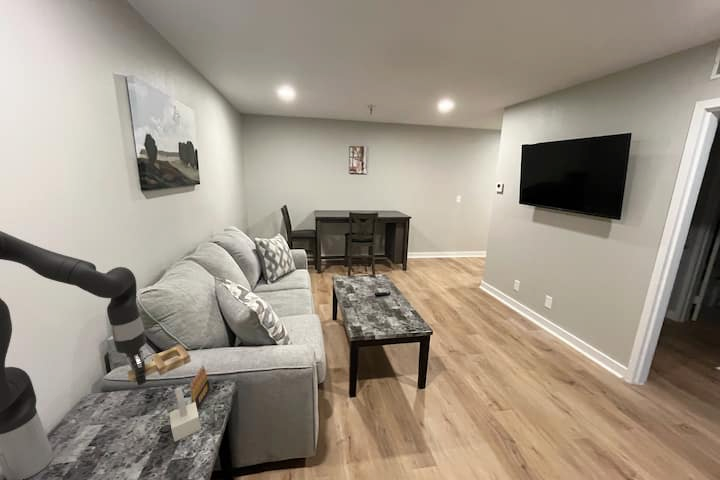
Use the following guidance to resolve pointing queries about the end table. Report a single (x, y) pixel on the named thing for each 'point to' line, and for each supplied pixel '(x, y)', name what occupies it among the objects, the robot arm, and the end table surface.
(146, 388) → the end table surface
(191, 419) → the ring stand
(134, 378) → the oak link
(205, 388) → the ammunition clip
